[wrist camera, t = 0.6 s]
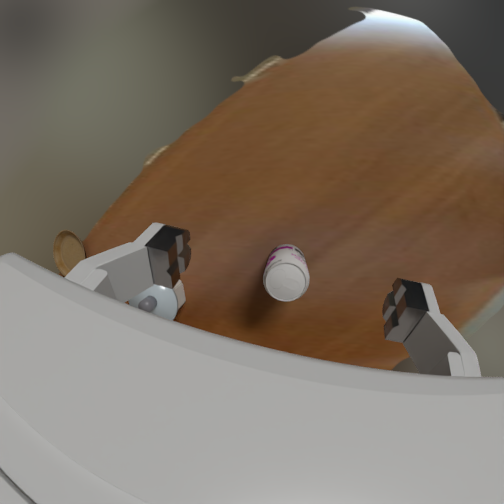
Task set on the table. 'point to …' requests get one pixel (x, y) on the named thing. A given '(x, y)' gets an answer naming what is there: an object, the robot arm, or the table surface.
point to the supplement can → (286, 273)
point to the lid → (157, 301)
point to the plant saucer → (67, 251)
